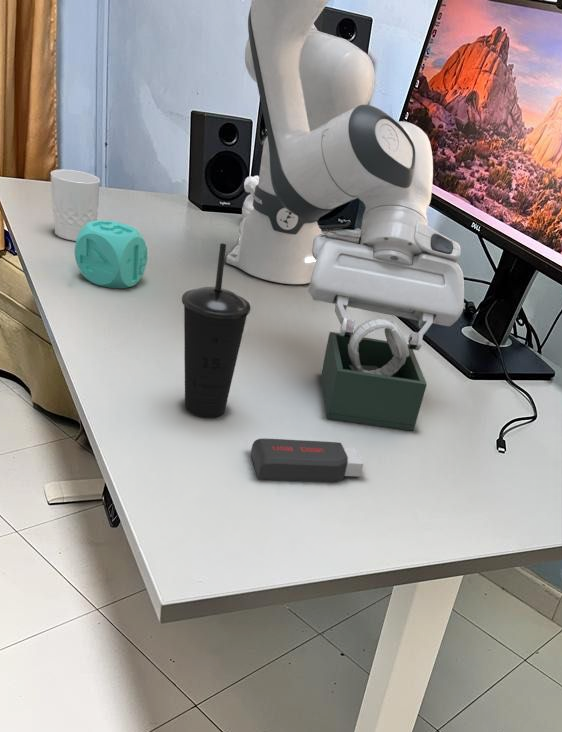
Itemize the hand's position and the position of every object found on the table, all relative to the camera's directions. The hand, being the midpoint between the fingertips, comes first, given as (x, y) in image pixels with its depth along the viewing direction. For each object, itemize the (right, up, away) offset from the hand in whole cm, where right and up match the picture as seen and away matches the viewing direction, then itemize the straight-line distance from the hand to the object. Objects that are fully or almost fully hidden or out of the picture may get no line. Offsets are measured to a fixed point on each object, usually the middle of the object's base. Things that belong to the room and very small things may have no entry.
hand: (380, 341), depth 98 cm
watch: (-2, -6, +5) cm, 9 cm away
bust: (-24, +39, +66) cm, 81 cm away
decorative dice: (-42, +15, +23) cm, 51 cm away
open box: (-2, -7, +6) cm, 9 cm away
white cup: (-53, +27, +37) cm, 70 cm away
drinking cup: (-22, -9, -5) cm, 24 cm away
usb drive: (-9, -17, -11) cm, 22 cm away
